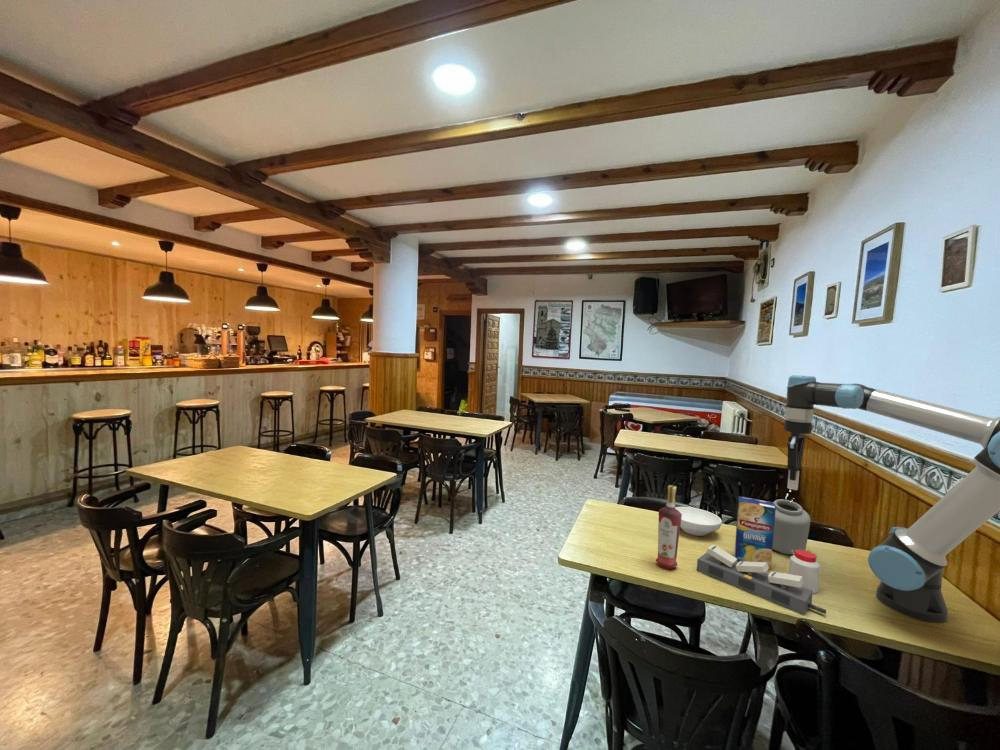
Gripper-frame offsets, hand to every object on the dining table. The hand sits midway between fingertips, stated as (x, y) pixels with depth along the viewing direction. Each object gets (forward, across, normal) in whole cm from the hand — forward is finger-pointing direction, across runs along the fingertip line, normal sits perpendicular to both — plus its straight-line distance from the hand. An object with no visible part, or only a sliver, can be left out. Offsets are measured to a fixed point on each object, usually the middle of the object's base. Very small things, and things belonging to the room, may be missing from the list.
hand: (792, 488), depth 138 cm
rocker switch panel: (+29, +20, -3) cm, 36 cm away
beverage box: (+30, +1, -10) cm, 31 cm away
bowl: (+30, -8, -34) cm, 46 cm away
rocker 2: (+23, +20, -5) cm, 31 cm away
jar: (+30, -20, -5) cm, 36 cm away
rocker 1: (+23, +20, -14) cm, 34 cm away
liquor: (+30, +30, -28) cm, 51 cm away
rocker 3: (+23, +20, +4) cm, 31 cm away
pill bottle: (+30, +6, +6) cm, 31 cm away
